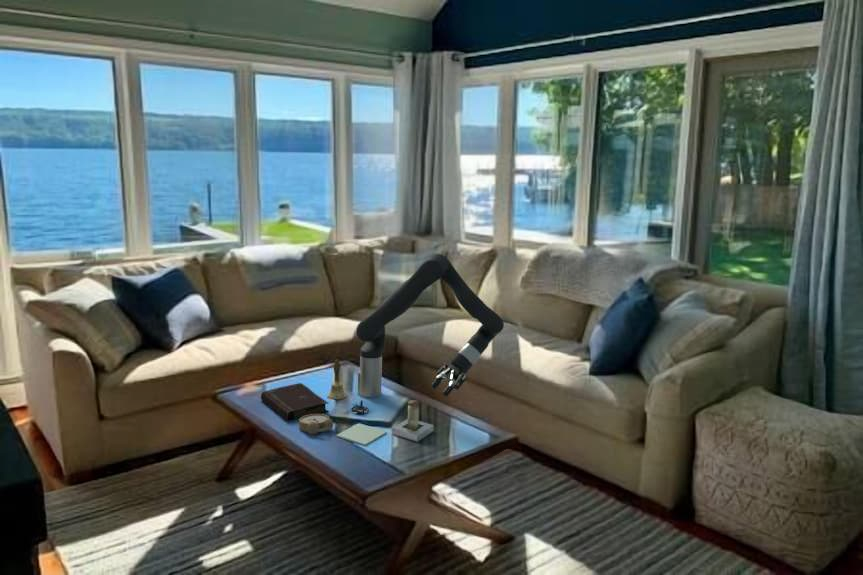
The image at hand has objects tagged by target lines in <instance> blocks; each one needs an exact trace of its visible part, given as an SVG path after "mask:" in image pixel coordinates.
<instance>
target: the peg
mask: <svg viewBox="0 0 863 575" xmlns="http://www.w3.org/2000/svg"><path fill="white" fill-rule="evenodd" d="M407 405H408V406H407V419H408V427H407V429H410V430H413V431H416V430H418V423H419V421H420V420H419V417H420V416H419V415H420V401H419V400H415V399H410V400H408V403H407Z"/></svg>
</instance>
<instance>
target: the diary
mask: <svg viewBox="0 0 863 575" xmlns="http://www.w3.org/2000/svg"><path fill="white" fill-rule="evenodd" d="M260 399H261V401H262V402H263V403H264V404H265V405H267V406H268V407H269V408H271V409H272V410H273V411H274V412H275V413H277V414H278V415H279V416H280V417H281V418H283V419H284V420H285V422H287V423H288V422H289V419H290V420H291V421H293V420H297V419H298V420H299V419H300V418H301V417H303V416H305V415H310V414H324V415H325V414H327V413H329V410H327V409H326V404H329V402H328V401H326V400H325V399H323V398H322V397H321V396H319V395H318V394H316V393H315V392H314V391H313V390H311V389H310V388H309V387H308V386H306V385H305V384H304V383H302V382H299V383H294V384H289V385H284V386H280V387H276V388H273V389H268V390H264V391H263V390H262V392H261V394H260Z"/></svg>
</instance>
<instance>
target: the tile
mask: <svg viewBox="0 0 863 575" xmlns="http://www.w3.org/2000/svg"><path fill="white" fill-rule="evenodd" d="M387 433H388V432H387V431H385V430H383V429H379V428H376V427H373V426H369V425H366V424H362V423H356V424H354V425H353V426H351V427H349V428H348V429H347V428H346V429H345V430H343V431H342V432H340V433H338V434H336V437H337V438H340V439H343V440H346V441H349V442H352V443H355V444H357V445H361V446H365V447H366V446H367V445H369V444H371V443H372V442H373V443H374V441H376V440H378V439H379V438H382V437H383V436H384V435H386V434H387Z"/></svg>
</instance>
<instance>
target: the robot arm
mask: <svg viewBox="0 0 863 575" xmlns="http://www.w3.org/2000/svg"><path fill="white" fill-rule="evenodd" d="M441 279H442V281H444V282H445V284H447V285H448V286H449V288H450V289H451V291H452V292H453V294H454V295H455V298H456V300H457V301H458V303H459V305H460V306H461V307H462V308H463V309H464V310H465V311H466V312H467V314H469V315H470V316H471V317H472V318H473V319H475V320H477V321H478V322H479V323H480V324H481V326H479V328H478V330H477V331H476V332H475V333H474V334H473V335H471V337H470V339H469V340H467V342H466V343H465V344H464V345H463V346H462V347H461V348H460V349H459V350H458V352H457V353H456V354H455V355H454V357H452V359H451V360H450V362H451V363H450V365H449V364H448V363H447V362H445V363H443V365H442V366H441V367H440V368H439V369H438V370H437V371H436V373H435V376H436V378H435V379H434V381H433V382H432V383H431V384H430V386H431V387H432V388H433V389H434V390H435V389H437V388H438V387H439V385H441V383H442V382H444V381H445V380H446V381H447V380H449V383H448V385H447V386H446V387H445V389H443V391H442V395H443V396H444V397H448V396H449V395H450V394H451V392H452V391H454V390H456V391H458V390H459V389H460V388H461V387H462V386H463V384H464V383H465V381H466V380H467V378H468V377H467V376H466V374H467V373H468V372H470V371H469V370H471V369H472V367H473V366H474V365H475V364H476V363H477V361H478V359H479V358H480V357H481V356H482V354H483V353H484V352H485V351H486V350H487V348H488V347H489V345H490V343H491V342H492V341H493V339H494V338H496V336H497V335H498V334H500V333H501V332H502V331H503V330H504V328H505V327H504V326H505V323H504V321H503V319H502V318H501V316H500V315H499V314H497V313H496V311H494V310H493V309H491V308H490V307H489V306H487V305H486V304H485V302H484V301H483V300H482V299H481V298H480V297H479V296H478V295H477V294H476V293H475V292H474V291H473V290H472V289H471V288H470V287H469V285H468V284H467V283H466V282H465V281H464V279H463V278H462V276H461V275H460V274H459V272H457V270H456V268H455V267H454V265H453V264H452V263H451V261H450V260H449V259H448V258H447V256H445V255H444V254H441V253H435V254H432V255H430V256H429V257H427V258H425V260H424V261H423V262H422V263H421V264H420V266H418V268H417V270H415V272H414V273H413V274H412V275H411V276H410V277H409V278H408V279H407V280H405V281H404V282H402V283H401V284H399V285H398V287H396V289H394V290H393V292H391V293H390V294H389V296H388V297H386V298H385V300H383V302H382V303H381V304H380V305H378V306H377V308H376V309H375V310H374V311H373V312H372V313H371V314H369V315H368V316H367V317H365V318H364V319H363V320H361V321H359V323H358V324H357V327H356V336H357V337H358V339H359V340H360V341H362V342H364V344H363V345H362V346H361V348H360V351H359V358H360V359H359V371H358V372H357V394H358V395H360V396H361V397H363V396H364V398H368V397H373V398H378V397H380V396H381V395H382V380H383V379H382V378H383V377H382V374H383V373H382V372H383V370H382V368H383V351H384V349H385V339H386V338H385V337H386V326H387V324H390V323H391V322H392V321H394V320H395V319H397V318H399V317H400V316H402V315H403V314H404V313H406V312H407V311H408V310H409V309H410V308H412V306H413V305H414V304H415V303H416V301H417V300H418V299H419V298H420V296H421V295H422V294H423V292H424V291H425V290H426V289H428V288H429V287H430V286H431V285H433V284H434V283H436V282H437V281H439V280H441Z"/></svg>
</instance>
